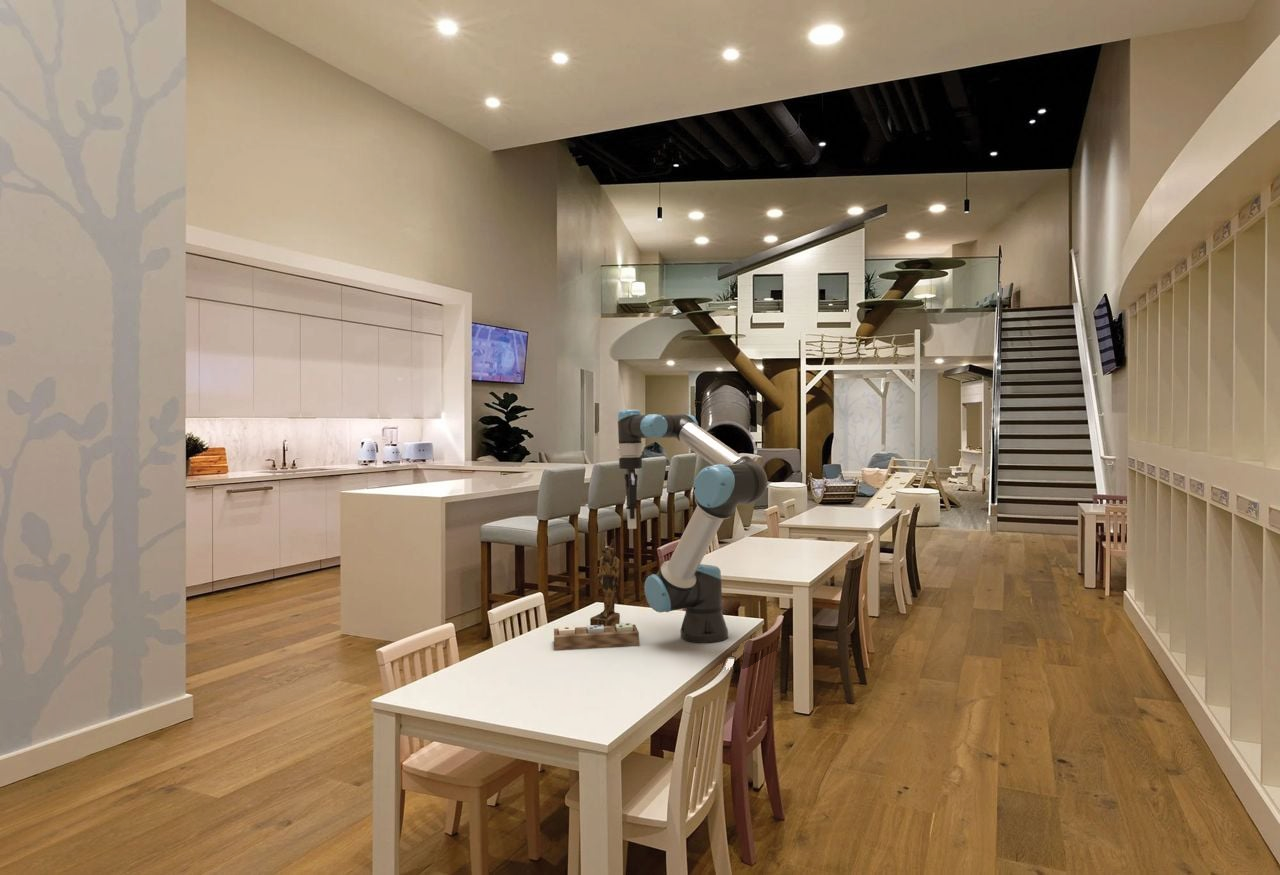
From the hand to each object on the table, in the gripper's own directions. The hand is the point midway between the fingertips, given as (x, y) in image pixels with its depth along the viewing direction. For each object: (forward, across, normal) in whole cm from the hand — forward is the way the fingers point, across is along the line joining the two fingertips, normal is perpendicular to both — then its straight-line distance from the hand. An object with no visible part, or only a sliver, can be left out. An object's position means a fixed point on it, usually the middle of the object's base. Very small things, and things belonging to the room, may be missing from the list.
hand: (632, 528), depth 264 cm
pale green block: (+33, +11, -4) cm, 35 cm away
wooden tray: (+34, +10, -13) cm, 38 cm away
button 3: (+33, +10, -13) cm, 37 cm away
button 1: (+33, +10, -22) cm, 41 cm away
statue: (+35, -9, -8) cm, 37 cm away
